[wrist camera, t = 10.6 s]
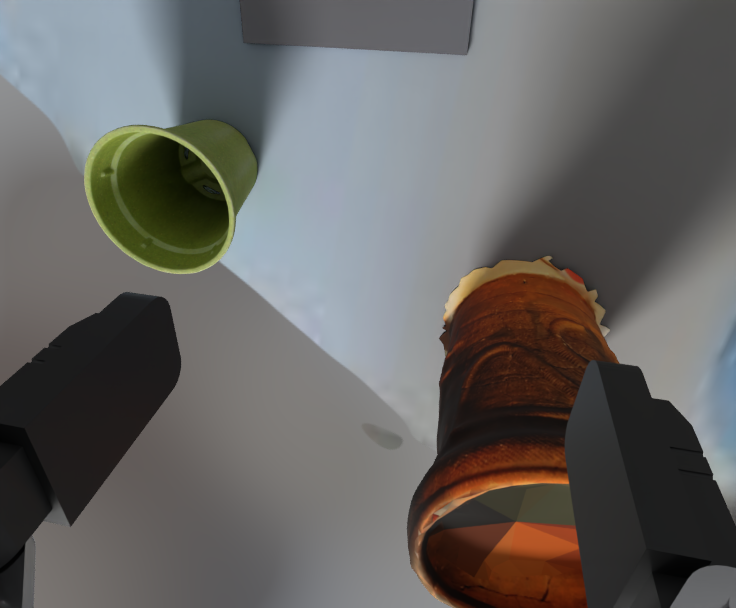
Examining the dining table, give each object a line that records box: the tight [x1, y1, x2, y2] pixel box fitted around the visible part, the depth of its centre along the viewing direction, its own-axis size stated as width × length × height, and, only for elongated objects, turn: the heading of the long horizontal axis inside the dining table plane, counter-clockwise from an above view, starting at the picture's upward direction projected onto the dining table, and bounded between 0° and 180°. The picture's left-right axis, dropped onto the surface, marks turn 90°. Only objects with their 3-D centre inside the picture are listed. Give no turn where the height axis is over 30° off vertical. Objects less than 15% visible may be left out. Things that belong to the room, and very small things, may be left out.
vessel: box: [407, 256, 619, 608], centre depth 34 cm, size 14×14×20 cm
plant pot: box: [84, 120, 257, 274], centre depth 35 cm, size 9×9×9 cm
